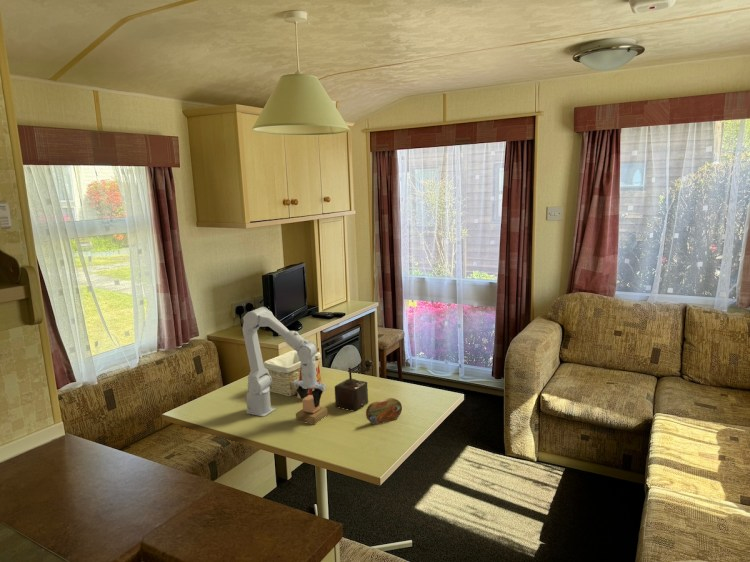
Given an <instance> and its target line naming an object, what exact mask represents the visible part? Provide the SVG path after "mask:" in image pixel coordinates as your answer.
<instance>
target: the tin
mask: <svg viewBox="0 0 750 562" xmlns="http://www.w3.org/2000/svg"><path fill="white" fill-rule="evenodd" d="M402 409H403V406H402V403H401V402H400V400H398V399H396V398H393V397H389V398H385V399H382V400H377V401H374V402H371V403H370V404H368V406H367V407H366V410H365V418H366V419H367V421H369V422H370V423H371V424H372V425H375V424H377V425H380V424H379V423H381V424H384V423H388V422H391V421H394V419H395V420H396V419H398V418H399V417H400V415H401V413H402V412H403V411H402ZM387 421H388V422H387ZM383 422H384V423H383Z"/></svg>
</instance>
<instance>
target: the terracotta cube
mask: <svg viewBox="0 0 750 562" xmlns="http://www.w3.org/2000/svg"><path fill="white" fill-rule="evenodd" d="M301 401H302V409H303V411H305V412H310V413H314V412H316V411H317V410H319V409H320V407H321V401H320V402H319V406H318V407H315V405H314V398H313V395H308V396H307V397H305V398H303V399H301Z"/></svg>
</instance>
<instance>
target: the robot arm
mask: <svg viewBox="0 0 750 562" xmlns="http://www.w3.org/2000/svg"><path fill="white" fill-rule="evenodd" d="M242 319H243V325H242V329H241V330H242V334H243V339H244V344H245V349H246V353H247V359H248V364H249V368H250V372H249V374H248V376H247V389H248V392H247V393H246V397H245V398H246V399H245V400H246V409H247V410H246V412H245V413H246V414H249V415H253V416H257V417H265V416H268V415H269V414H271V413H272V412H274V411H276V407H272V404H271V392H270V391H269V389H270V385H271V384H272V378H271V376H270V375H269V372H268V370H267V369H266V368H264V364H263V363H264V360H263V356H262V349H261V346H260V340H259V335H258V330H259V329H260V327H261V328H262V327H269V328H270V329H271V330H272V331H274V332H276V333H277V334H279V335H280V336H281V337H283V338H284V343H286V345H288V346H289V347H290V348H292V350H295V351H297V354H298V357H299V358H300V360H301V370H302V381H298V380H296V381H294V386H295V387H296V386H298V389H297V392H298V393H299V395H300V397H301V398H300V399H301V400H302V399H303V398H305V397H307V396H308V388H311V389H315V390H314V391H312V395H313V398H314V405H315V407H318V406H319V402H320V403H321V397H322V395H323V393H324V392H325V391H326V390H327V384H323V383H322V384H321V383H318V382H317V377H316V362H315V354H316V353H317V352H318V347H317V344H316V343H315V342H314V341H312V340H309V341H308V339H306V338H304V337H303V336H301V335H300V334H299V332H298V331H297V330H289V329H288V328H287V327H286V326H285V325H284V324H283V323H282V322H281V321H280V320H279V319H277V318H276V316H274V314H273V312H272V311H271V310H269V309H268V308H267V307H266V306H260V307H258V308H256V309H253V310H251V311H248V312H246V313H245V315H244V316H243V317H242ZM313 355H314V356H313ZM298 393H297V394H298Z"/></svg>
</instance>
